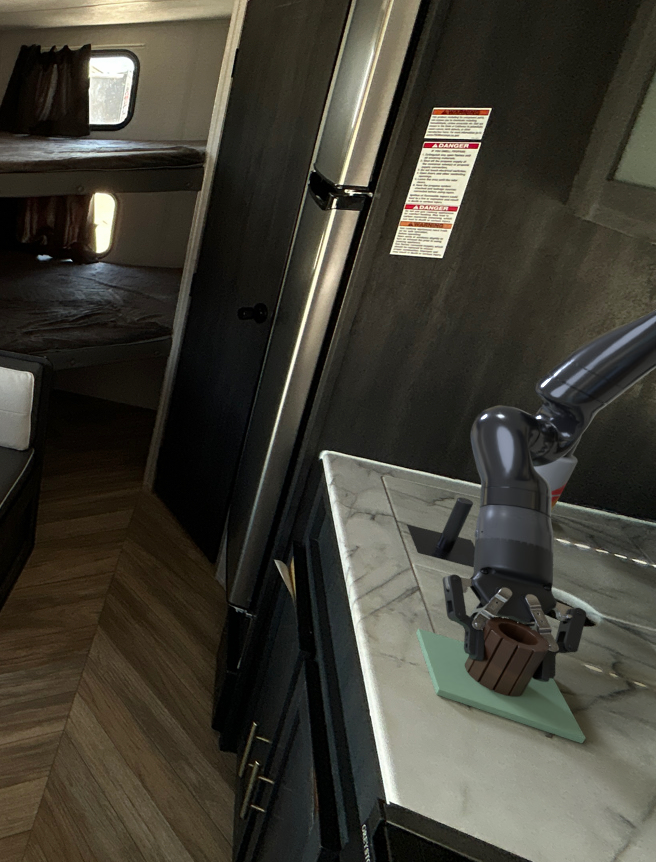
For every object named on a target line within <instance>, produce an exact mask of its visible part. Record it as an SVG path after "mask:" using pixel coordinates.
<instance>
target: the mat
mask: <svg viewBox="0 0 656 862" xmlns="http://www.w3.org/2000/svg"><path fill="white" fill-rule="evenodd" d="M415 633H416V637H417V640H418V643H419V646H420V649H421V652H422V655H423V658H424V661H425V664H426V668H427V670H428V673H429V676H430V680H431V683H432V685H433V688H434V691H435V694H436V695H437V696H440V697H442V698H445V699H449V700H451V701H455V702H458V703H461V704H463V705H466V706H469V707H472V708H474V709H478V710H481V711H484V712H487V713H490V714H492V715H496V716H499V717H501V718H505V719H508V720H511V721H514V722H517V723H519V724H523V725H525V726H529V727H532V728H535V729H537V730H541V731H544V732H546V733H550V734H552V735H555V736H558V737H562V738H564V739H567V740H570V741H574V742H576V743H579V744H583V743H584V742H585V740H586V736H585V733H584V732H583V731H582V729H581V727H580V725H579V723H578V722H577V720H576V718H575V716H574V714H573V712H572V710H571V709H570V706H569V705H568V703H567V701H566V699H565V697H564V696H563V694H562V692H561V690H560V687H559V686H558V684H557V682H556V681H555V679H554V678H553V679H551V678H550V679H549V681H548V682H541V681H538V680H535V679H533V678H532V679H531V681H530V683H529V684H528V686H527V688H526V690H525V691H524V693H523V694H522V695H521V696H509V695H507V696H505V695H502V694H499V693H496V692H494V690H492V691H491V690H489V689H488V688H486V687H484V686H482V685H481V684H479V683H480V682H476V681H475V680H474V679H473V678H472V677H471V676H470V675H469V673H468V672H467V671H466V668H465V666H464V665H465V662H466V661H467V659H468V657H469V654H467V653H465V650H464V641H462V640H459V639H455V638H452V637H449V636H445V635H443V634H442V635H441V634H438V633H435V632H433V631H429V630H426V629H422V628H417V631H416V632H415Z"/></svg>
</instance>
